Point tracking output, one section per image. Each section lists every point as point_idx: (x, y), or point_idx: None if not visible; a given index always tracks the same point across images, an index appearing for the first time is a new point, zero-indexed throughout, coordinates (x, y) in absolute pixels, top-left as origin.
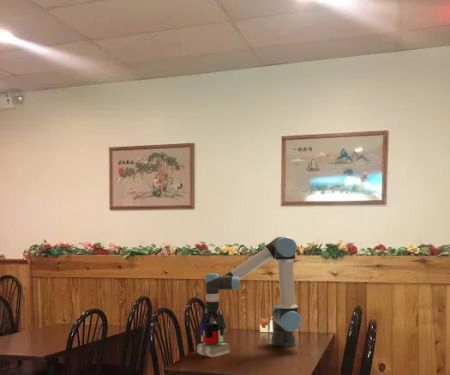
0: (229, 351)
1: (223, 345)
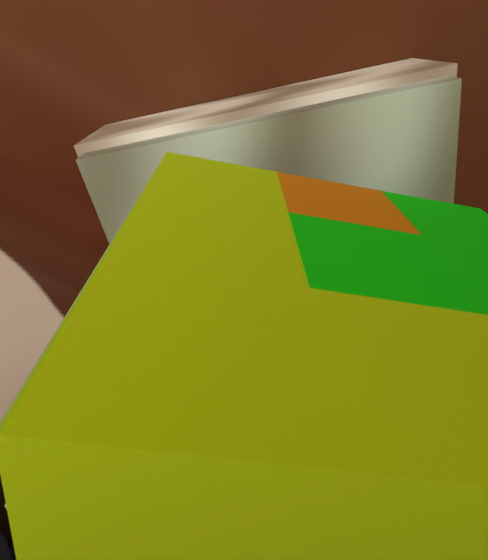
0: (418, 59)
1: (450, 199)
